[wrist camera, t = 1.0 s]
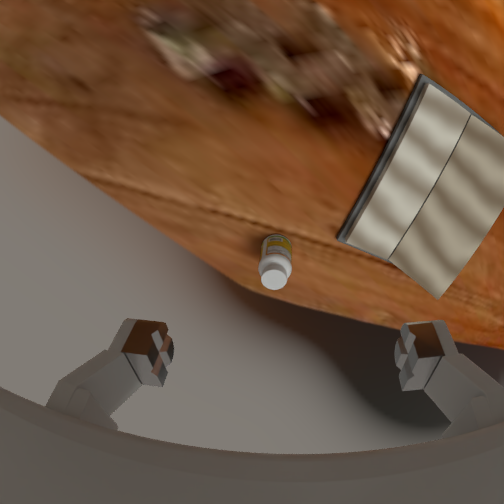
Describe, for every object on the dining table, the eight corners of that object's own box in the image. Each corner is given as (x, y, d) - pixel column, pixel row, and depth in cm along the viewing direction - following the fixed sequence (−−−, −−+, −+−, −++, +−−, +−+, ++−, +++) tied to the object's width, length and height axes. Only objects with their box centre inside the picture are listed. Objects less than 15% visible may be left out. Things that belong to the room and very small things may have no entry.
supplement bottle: (276, 263, 58) (273, 298, 50) (255, 245, 57) (249, 279, 49) (297, 247, 56) (298, 281, 48) (277, 227, 54) (274, 259, 46)
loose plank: (471, 115, 37) (471, 114, 36) (528, 158, 32) (529, 158, 31) (390, 257, 54) (388, 259, 52) (438, 296, 49) (437, 299, 48)
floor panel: (420, 74, 36) (426, 74, 34) (517, 151, 39) (524, 155, 37) (336, 237, 54) (338, 245, 52) (436, 280, 56) (440, 288, 54)
